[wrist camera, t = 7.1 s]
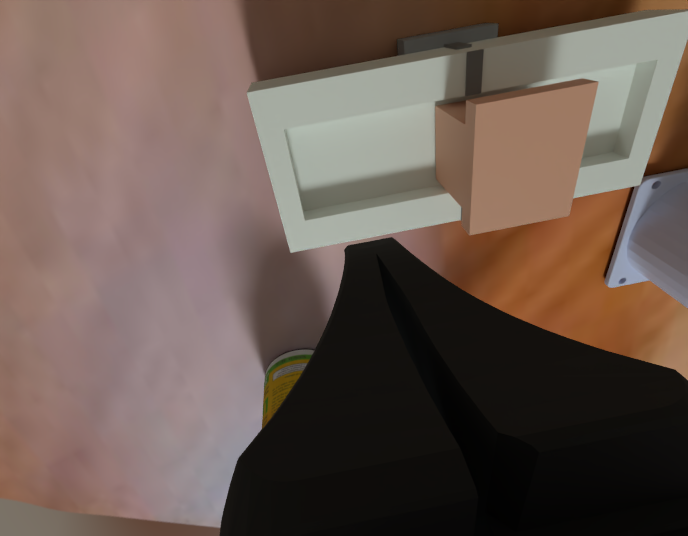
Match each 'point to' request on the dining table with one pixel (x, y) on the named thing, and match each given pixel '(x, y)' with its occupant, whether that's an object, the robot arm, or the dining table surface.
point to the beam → (443, 88)
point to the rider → (514, 153)
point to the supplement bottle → (282, 379)
